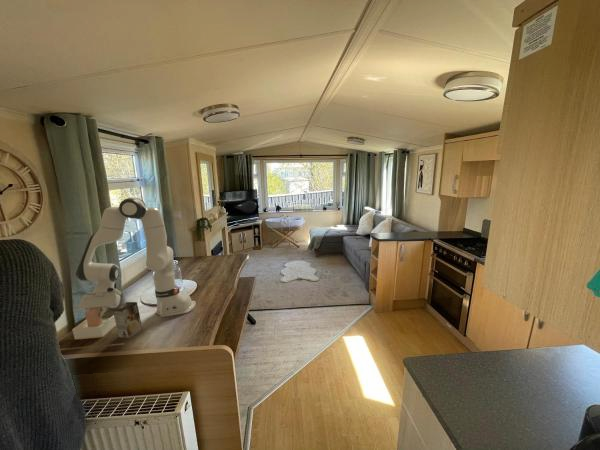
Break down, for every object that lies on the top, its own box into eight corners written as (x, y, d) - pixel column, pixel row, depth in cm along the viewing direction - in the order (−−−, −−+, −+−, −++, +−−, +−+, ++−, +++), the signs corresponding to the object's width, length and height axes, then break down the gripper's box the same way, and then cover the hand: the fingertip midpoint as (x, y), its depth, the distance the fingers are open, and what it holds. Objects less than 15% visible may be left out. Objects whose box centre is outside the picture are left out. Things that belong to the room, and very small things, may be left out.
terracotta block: (102, 323, 144) (99, 308, 143) (97, 327, 140) (93, 312, 138) (94, 323, 144) (91, 308, 142) (88, 328, 140) (85, 313, 138)
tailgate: (118, 322, 150) (123, 318, 154) (118, 321, 150) (123, 316, 154) (92, 325, 149) (98, 320, 154) (92, 323, 149) (98, 318, 153)
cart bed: (118, 324, 150) (116, 313, 148) (103, 338, 137) (100, 326, 136) (92, 326, 149) (90, 316, 148) (75, 340, 136) (72, 329, 135)
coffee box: (132, 328, 145) (127, 301, 142) (142, 329, 143) (137, 301, 140) (118, 338, 136) (112, 309, 133) (128, 339, 134) (123, 310, 131)
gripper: (80, 291, 146) (70, 316, 138) (118, 288, 147) (110, 313, 139) (87, 295, 151) (78, 319, 143) (124, 292, 152) (117, 316, 145)
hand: (94, 316), depth 141 cm, fingers closed on terracotta block, 4 cm apart
